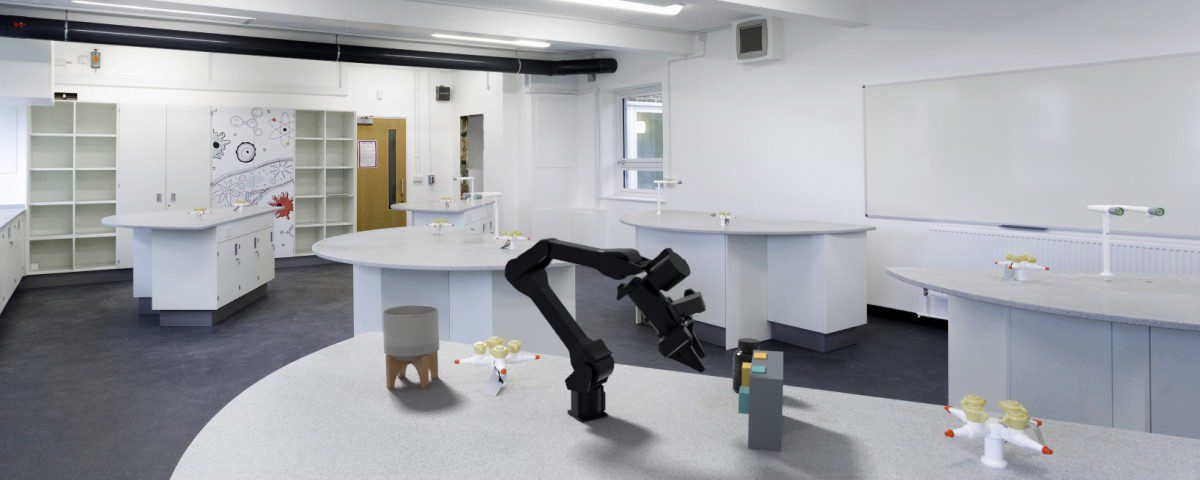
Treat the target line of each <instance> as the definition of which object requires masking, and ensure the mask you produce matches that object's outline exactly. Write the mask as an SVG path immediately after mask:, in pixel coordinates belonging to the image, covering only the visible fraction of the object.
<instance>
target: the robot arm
mask: <svg viewBox="0 0 1200 480" xmlns="http://www.w3.org/2000/svg"><path fill="white" fill-rule="evenodd" d="M553 260H557V261H560V262H561V261H562V262H566V263H569V264H574V265H579V266H584V267H587V268H592V269H594V270H596V271H597V272H598V273H600V274H602V275H603V276H605V277H608V278H609V279H612V280H615V281H622V280H625V279H629V278H631V277H634V278H631V279H630V280H629V281H628V282H627V283H620V284H618V285H617V286H616V290H617V294H616V300H617V301H621V300H623V298H624V297H627V298H628V299H629V300H630V301H631V303H633V305H634V306H635V308H637V309H638V311H639V312H640V313H641V315H643V316H644V317H643V320H644V321H645V323H649V324H650V325H651V326H652V327H653V328H654V329H655V331H656V332H657V335H656V336H657V337H659V341H658V349H657V350H658V351H659V354H661V356H662V357H663V358H667V359H668V360H669V359H670V360H673V361H675V362H677V363H680V364H682V365H685V366H687V367H688V368H691V369H692V370H694V371H696V372H699V373H703V372H704V371H705V370H706V367H705V366H704V364H703V362H702V360H701V359H704V358H705V357H706V353H705V350H704V349H703V347H702V345H701V343H700V342H699V339H698V338H697V335H696V333H695V331H694V324H695V323H694V322H695V319H694V318H693V317H694V316H693V315H695V314H702V313H704V312H705V311H706V310H707V309H706V307H707V306H706V303H705V301H704V298H703V295H702V293H701V291H695V290H694V289H693V288H691V287H690V288H686V289H684V291H683V296H682V297H681V296H680V297H679V298H677V299H675V300H674V299H673V298H672V297H671V296H668V295H665V294H664V293H663V292H669V291H671V290H672V289H674V288H675V287H676V286H677V285H679V284H680V283H681V282H683V280H686V279H687V278H688V277H689V276H691V274H692V273H691V269H690V265H689V263H688V262H687V260H686V259H685V258H683V257H682V256H681V255H679V254H678V253H677V252H675V251H673V248H671V247H665V248H664V249H663V250H662V251H660V253H659V254H658V255H657V256H656V257H654V258H653V259H651V258H648V257H645V256H642V255H641V254H640V252H639V250H637V249H635V248H631V247H630V248H628V247H627V248H625V247H624V248H623V247H622V248H621V247H620V248H614V247H613V248H601V247H600V248H599V247H595V246H591V245H590V246H589V245H585V244H580V243H576V242H575V243H574V242H570V241H566V240H561V239H557V238H556V237H548V238H543V239H539V241H537V242H536V243H535V244H533V246H530V248H527V250H525V251H523V252H522V253H521V254H519V255H518V256H516V257H515V258H511V259H509V260H508V261H507V262H506V264H505V267H504V273H503V274H504V277H505V279H506V281H507V282H508V283H509V284H510V285H511V286H512V287H513V288H514V289H515V290H516V291H517V292H519V293H521V295H523V296H526V297H528V298H529V299H530V300H531V301H532V303H533V304H534V305H535V307H536V308H537V309H538V311H539V312H540V313H541V315H542V316H543V318H544V319H545V320H546V321H547V323H548V325H549V326H550V327H551V329H552V330H553V331H554V332H555V334H556V335H557V337H558V338H559V339H560V341H561V342H562V343H563V345H564V346H565V348H566V349H567V351H568V354H569V361H570V366H571V367H572V369H573V371H572V372H571V373H570V374H569V375H568V376H567V377H566V378H565V379H564V383H565V388H566V390H567V391H570V409H568V410H567V411H566V413H567V414H569V415H570V416H571V417H573V418H575V419H577V420H579V421H580V422H586V421H592V420H595V419H596V420H597V419H600V418H606V417H608V415H609V414H608V413H607V412H606V409H607V408H606V405H607V404H606V401H607V400H606V399H607V398H606V395H607V394H606V391H605V387H604V384H606V383H607V382H608V379H609V377H610V376H612V374H613V373H614V370H615V363H616V362H615V359H614V357H613V355H612V354H614V353H613V351H611V350H609V348H608V347H607V345H606V343H605V341H603V339H602V338H598V339H595V340H593V339H592V338H590V337H588V336H587V334H586V333H585V332H584V331H583V329H582V327H581V326H580V325H579V324H578V323H577V321H576V320H575V318H574V317H573V315H571V313H570V311H569V310H568V309H567V308H566V306H565V305H564V303H563V302H562V301H561V299H560V298H559V296H557V294H556V293H555V291H554V290H553V289H552V288H551V286H550V284H549V279H548V278H549V277H548V272H547V270H546V269H547V268H548V266H550V264H551V263H552V262H553ZM644 273H646V274H645V275H644V276H642V277H639V276H637V275H640V274H644ZM688 320H689V321H688Z"/></svg>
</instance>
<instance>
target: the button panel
mask: <svg viewBox="0 0 1200 480" xmlns="http://www.w3.org/2000/svg"><path fill="white" fill-rule="evenodd" d="M783 397H784V351H775V350H774V351H773V350H760V349H758V350H754V351H753V357H752V364H751V370H750V376H749V414H748V421H747V422H748V429H747V430H748V431H747V432H748V433H747V449H750V450H760V451H761V450H762V451H772V452H782V444H783V443H782V440H783V438H782V436H783V405H784V402H783V399H784V398H783Z"/></svg>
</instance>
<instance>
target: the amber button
mask: <svg viewBox="0 0 1200 480" xmlns="http://www.w3.org/2000/svg"><path fill="white" fill-rule="evenodd" d="M751 364H752V363H743V365H742V387H749V376H750V370H751Z"/></svg>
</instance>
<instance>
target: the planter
mask: <svg viewBox="0 0 1200 480" xmlns="http://www.w3.org/2000/svg"><path fill="white" fill-rule="evenodd" d="M439 315H440V314H439V308H438V307H436V306H434V305H425V304H409V305H408V304H407V305H401V306H400V305H399V306H395V307H394V306H393V307H389V308H386V309H384V310H383V311H382V327H383V328H382V329H383V330H382V331H383V353H384V354H385V370H386V371H385V374H386V377H385V378H386V388H387V389H392V388H395V385H396V379H397V378H399V377H400V378H399V379H402V378H401V377H403V378H406V377H405V376H406V374H407V373H406V372H407V367H408V365H412V366H413V367H414V368H415V370H416V372H417V375H418V377H419V382H420V388H421V389H428V388H430V380H429V379H430V378H431V379H436V378H439V359H438V358H439V357H438V354H439V353H438V351H439V350H440V322H439V321H440V319H439ZM429 373H430V374H429Z"/></svg>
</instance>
